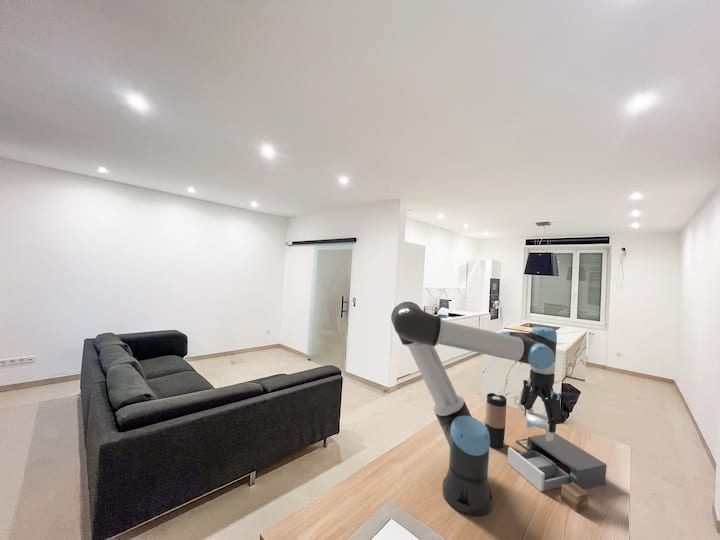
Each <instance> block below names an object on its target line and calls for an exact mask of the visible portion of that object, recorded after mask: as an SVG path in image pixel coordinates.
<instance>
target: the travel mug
mask: <svg viewBox="0 0 720 540" xmlns="http://www.w3.org/2000/svg"><path fill="white" fill-rule="evenodd" d="M485 405H486V406H485V422H484V423H485V424H484V425H485V426H486V427H487V429H488V431H489V436H490V447H489V448H492V449H494V450H500V449H503V448H504V443H505V433H506V419H507V418H506V417H507V397H505V396H504V395H502V394H498V395H497V394H496V393H494V392H491V393H487V395H486V404H485Z"/></svg>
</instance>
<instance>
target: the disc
mask: <svg viewBox="0 0 720 540" xmlns="http://www.w3.org/2000/svg"><path fill="white" fill-rule="evenodd" d="M527 421H528V422H529V423H530V424H531V425H533V426H534V427H536V428H538V429H545V430H546V422H547V421H549V420H548V417H547V415H544V414H542V413H536V412H533V413H528V414H527Z"/></svg>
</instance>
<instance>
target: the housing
mask: <svg viewBox="0 0 720 540" xmlns="http://www.w3.org/2000/svg"><path fill="white" fill-rule="evenodd" d="M545 438H546V433H545V434H539V435H533V436H528V437H527V439H528V441H527V446H526V448H527V450H526V452H527V451H532V450H536V451H537V452H538V453H540V454H542V455H543V454H548V453H549V454H551V455H552V456H554V457H555V458H556V459H558V460H559V461H561V462H560V463H562V464H564V465H565V466H566V467H568V468H569V469H570V473H569V475H570V483H572V482H573V483H575V484H576V485H578V486H579V487H580V488H582V489H583V490H586V489H590V488H594V487H598V485H599V486H603V485H605V484H606V479H607V463H606V462H604V461H602V460H600V459H599V458H597V457H595V456H593V455H592V454H590V453H589V452H588V451H585V450H584V449H582V448H580V447H579V446H577V445H575V444H574V443H572V442H570V441H569V440H567V439H565V438H564V437H562V436H560V435H559V434H557V433H556V432H555V433H554V437H553V440H552V441H546V440H545Z"/></svg>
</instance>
